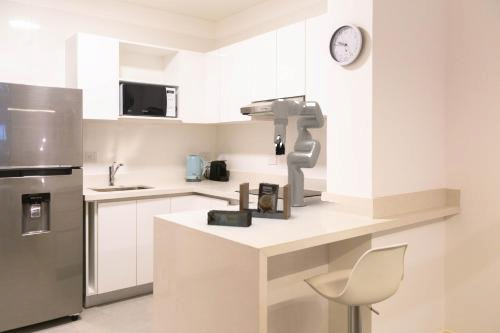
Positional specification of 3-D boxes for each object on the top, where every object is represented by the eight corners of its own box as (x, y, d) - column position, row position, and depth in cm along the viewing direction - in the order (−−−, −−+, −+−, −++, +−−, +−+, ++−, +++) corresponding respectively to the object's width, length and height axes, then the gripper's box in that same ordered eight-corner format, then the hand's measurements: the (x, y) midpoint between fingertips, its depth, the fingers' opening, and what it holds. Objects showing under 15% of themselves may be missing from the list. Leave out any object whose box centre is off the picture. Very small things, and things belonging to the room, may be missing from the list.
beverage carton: (212, 222, 193) (212, 207, 192) (252, 224, 188) (252, 210, 188) (206, 225, 185) (206, 210, 185) (248, 228, 181) (248, 213, 180)
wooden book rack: (245, 213, 216) (245, 182, 215) (290, 215, 210) (291, 184, 209) (239, 216, 206) (239, 184, 205) (287, 219, 199) (287, 186, 198)
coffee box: (256, 215, 206) (258, 183, 205) (259, 213, 212) (261, 182, 211) (274, 217, 203) (276, 185, 202) (277, 215, 209) (279, 184, 208)
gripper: (277, 123, 229) (276, 154, 230) (270, 121, 213) (270, 155, 214) (290, 123, 228) (290, 154, 229) (285, 121, 211) (284, 155, 212)
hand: (280, 154), depth 221 cm, fingers open, 9 cm apart
